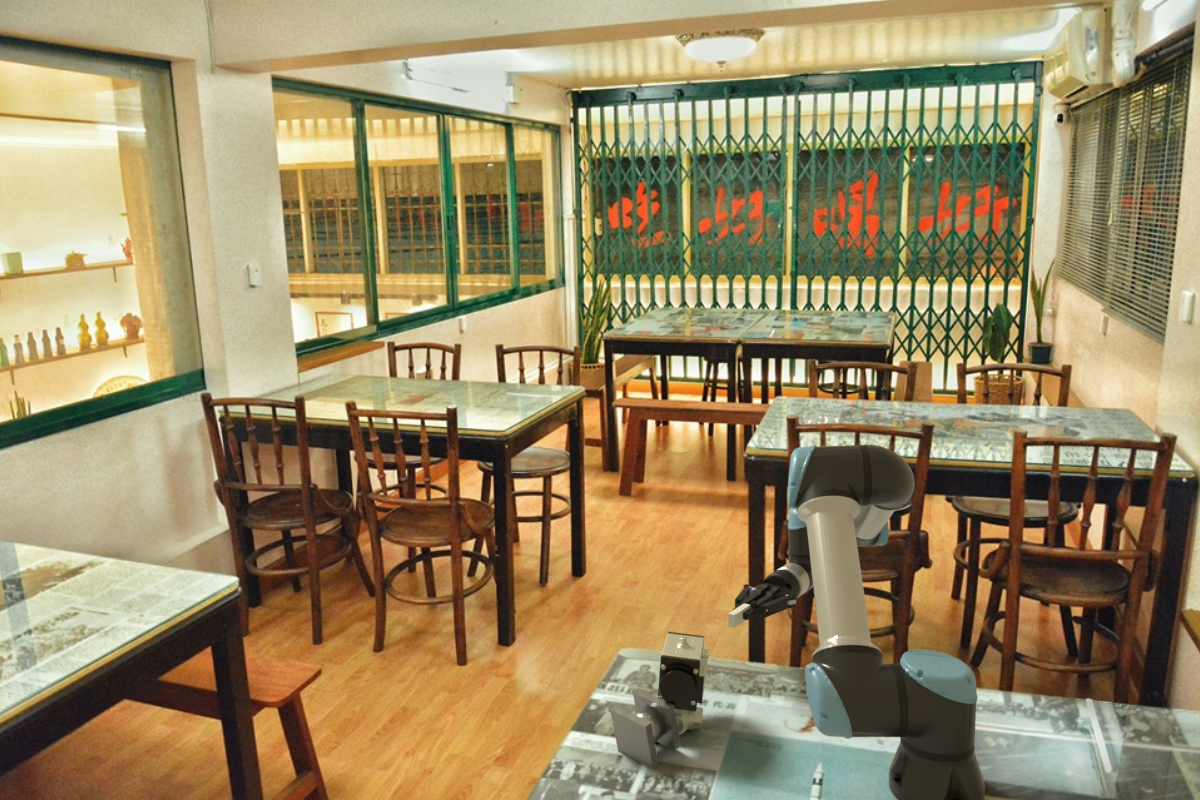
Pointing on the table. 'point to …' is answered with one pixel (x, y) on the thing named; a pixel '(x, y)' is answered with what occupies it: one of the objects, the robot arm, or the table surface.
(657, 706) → the flanged fitting
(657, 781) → the table surface
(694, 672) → the ball valve
